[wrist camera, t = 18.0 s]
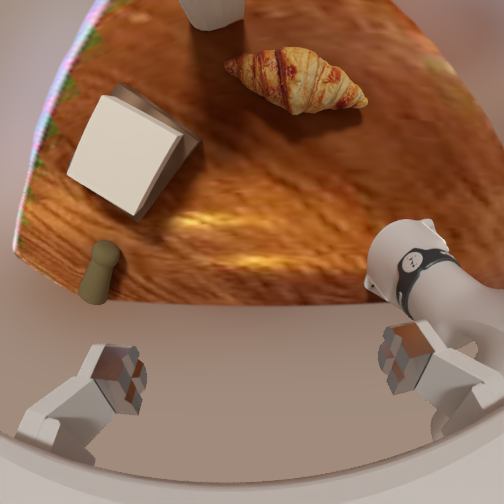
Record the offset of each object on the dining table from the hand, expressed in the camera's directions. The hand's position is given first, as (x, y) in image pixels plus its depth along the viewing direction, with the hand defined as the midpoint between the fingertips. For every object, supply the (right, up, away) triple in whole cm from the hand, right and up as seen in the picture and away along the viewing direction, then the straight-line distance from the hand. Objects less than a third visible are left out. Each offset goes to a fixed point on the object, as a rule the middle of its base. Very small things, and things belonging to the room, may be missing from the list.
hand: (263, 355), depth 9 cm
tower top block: (-18, +17, +27) cm, 37 cm away
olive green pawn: (-30, -5, +39) cm, 49 cm away
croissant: (+6, +26, +29) cm, 39 cm away
